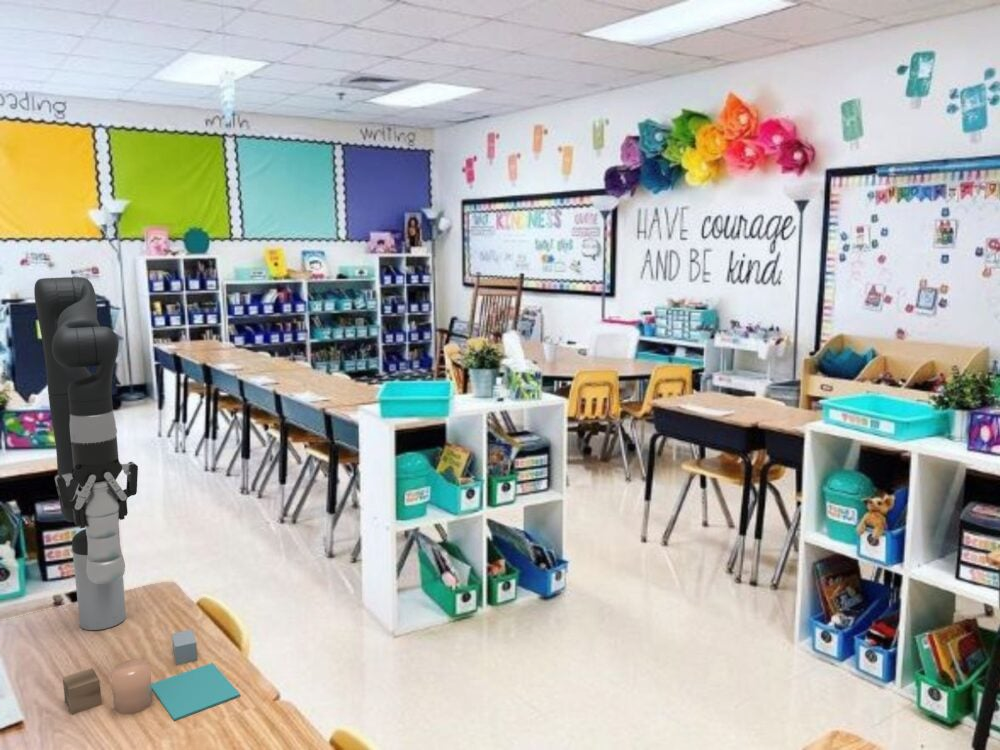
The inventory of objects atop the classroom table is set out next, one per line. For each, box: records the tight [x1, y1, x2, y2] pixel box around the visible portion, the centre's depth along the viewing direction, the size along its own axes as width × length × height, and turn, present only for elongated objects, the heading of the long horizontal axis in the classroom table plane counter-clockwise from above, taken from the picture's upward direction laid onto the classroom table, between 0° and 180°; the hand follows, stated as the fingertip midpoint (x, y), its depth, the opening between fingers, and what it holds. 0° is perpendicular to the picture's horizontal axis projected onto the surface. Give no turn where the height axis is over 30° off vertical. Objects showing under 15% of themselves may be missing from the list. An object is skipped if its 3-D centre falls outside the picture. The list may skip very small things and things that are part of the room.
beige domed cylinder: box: [110, 658, 154, 715], centre depth 146 cm, size 6×6×7 cm
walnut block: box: [62, 667, 103, 716], centre depth 146 cm, size 5×5×5 cm
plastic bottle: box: [82, 480, 126, 584], centre depth 150 cm, size 6×7×20 cm
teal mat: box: [151, 662, 241, 722], centre depth 150 cm, size 14×12×1 cm
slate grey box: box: [171, 628, 198, 666], centre depth 163 cm, size 6×4×4 cm, turn 27°
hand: (101, 522), depth 150 cm, fingers closed on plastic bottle, 6 cm apart
